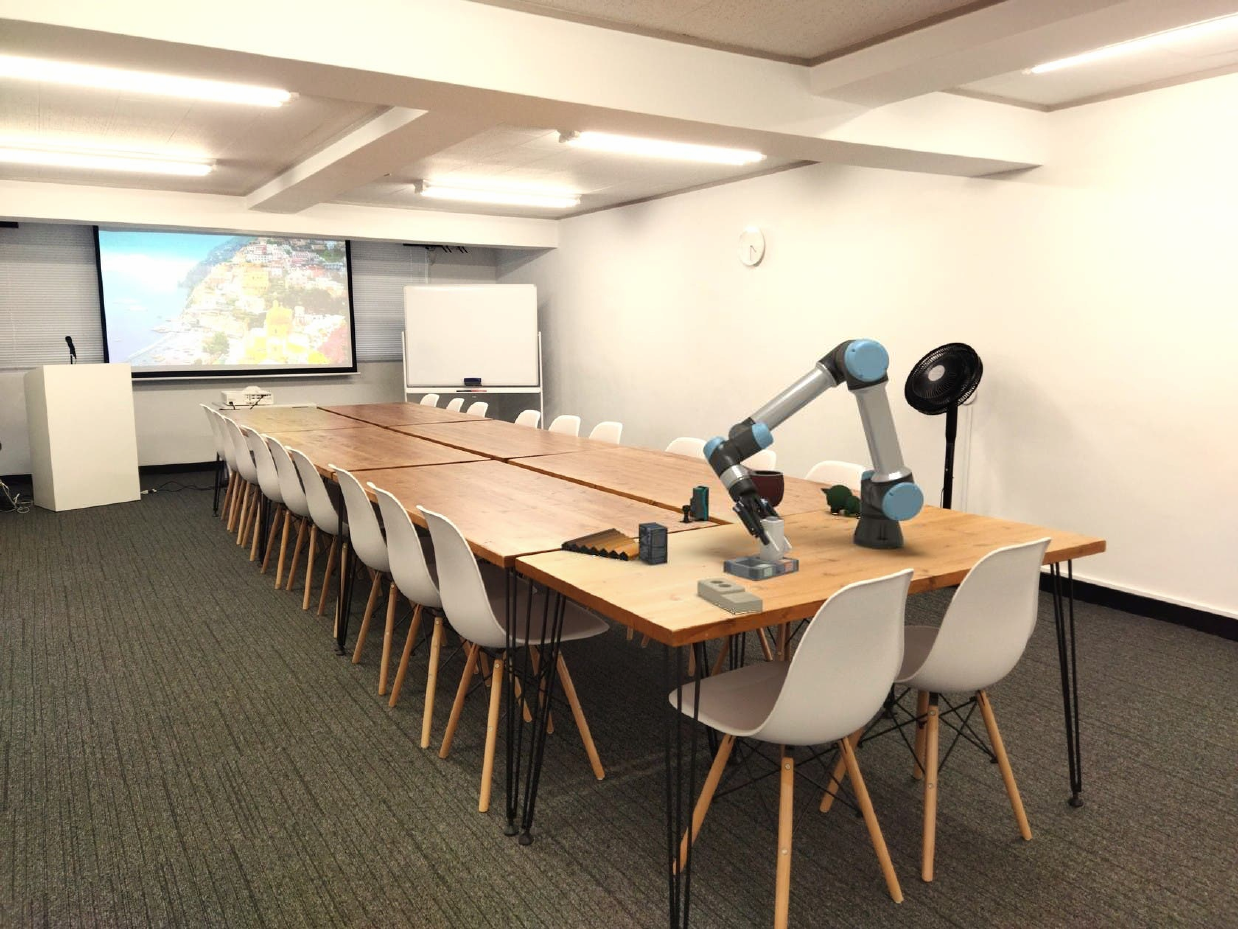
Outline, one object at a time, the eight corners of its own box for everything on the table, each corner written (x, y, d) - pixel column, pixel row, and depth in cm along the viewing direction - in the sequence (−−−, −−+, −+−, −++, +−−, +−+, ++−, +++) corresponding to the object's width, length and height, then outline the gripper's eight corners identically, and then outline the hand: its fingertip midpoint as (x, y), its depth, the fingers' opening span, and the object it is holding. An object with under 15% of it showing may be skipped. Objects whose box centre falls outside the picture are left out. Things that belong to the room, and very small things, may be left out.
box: (637, 559, 247) (638, 523, 245) (655, 557, 249) (655, 521, 248) (650, 565, 240) (650, 528, 238) (668, 563, 242) (668, 526, 241)
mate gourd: (776, 516, 312) (777, 461, 310) (788, 523, 299) (790, 466, 296) (734, 517, 310) (736, 462, 308) (745, 524, 297) (746, 467, 294)
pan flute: (609, 537, 279) (561, 551, 259) (609, 527, 278) (561, 540, 258) (675, 547, 264) (628, 563, 244) (675, 536, 264) (628, 551, 244)
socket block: (765, 562, 243) (765, 551, 243) (799, 570, 234) (799, 559, 234) (723, 572, 233) (723, 560, 232) (757, 581, 223) (757, 569, 223)
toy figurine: (886, 523, 308) (824, 508, 324) (893, 471, 304) (830, 459, 320) (875, 527, 301) (812, 512, 317) (882, 474, 297) (817, 461, 313)
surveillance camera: (677, 487, 301) (699, 485, 306) (677, 521, 302) (699, 518, 308) (687, 489, 296) (709, 487, 302) (687, 524, 298) (709, 521, 303)
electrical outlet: (736, 599, 194) (697, 580, 211) (735, 616, 195) (696, 596, 211) (762, 595, 197) (722, 576, 214) (762, 612, 198) (721, 592, 214)
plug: (770, 560, 239) (771, 515, 237) (782, 563, 236) (784, 517, 234) (759, 562, 236) (760, 517, 235) (772, 565, 233) (773, 519, 231)
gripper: (752, 489, 251) (795, 555, 240) (710, 496, 240) (753, 564, 229) (766, 474, 246) (811, 540, 236) (724, 479, 235) (768, 549, 225)
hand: (782, 552), depth 232 cm, fingers closed on plug, 4 cm apart
